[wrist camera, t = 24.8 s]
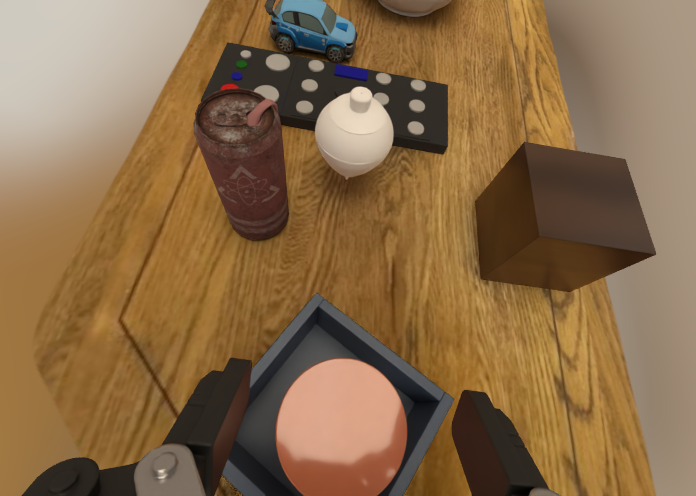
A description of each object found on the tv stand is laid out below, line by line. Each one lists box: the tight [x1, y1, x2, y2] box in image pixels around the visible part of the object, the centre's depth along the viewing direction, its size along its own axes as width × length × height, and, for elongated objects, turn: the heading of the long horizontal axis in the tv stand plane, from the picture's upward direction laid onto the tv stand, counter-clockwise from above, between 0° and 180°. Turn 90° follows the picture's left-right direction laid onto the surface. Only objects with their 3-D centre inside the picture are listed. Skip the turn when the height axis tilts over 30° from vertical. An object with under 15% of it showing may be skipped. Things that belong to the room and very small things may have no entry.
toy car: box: [265, 0, 357, 63], centre depth 46 cm, size 6×12×6 cm, turn 81°
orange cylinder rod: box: [275, 358, 407, 496], centre depth 21 cm, size 6×6×14 cm
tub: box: [222, 293, 454, 496], centre depth 25 cm, size 13×13×7 cm
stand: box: [475, 142, 656, 292], centre depth 34 cm, size 10×10×10 cm
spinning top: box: [315, 87, 394, 180], centre depth 34 cm, size 8×8×12 cm
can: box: [194, 88, 289, 240], centre depth 30 cm, size 6×6×14 cm
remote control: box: [201, 43, 448, 154], centre depth 43 cm, size 11×30×2 cm, turn 82°
